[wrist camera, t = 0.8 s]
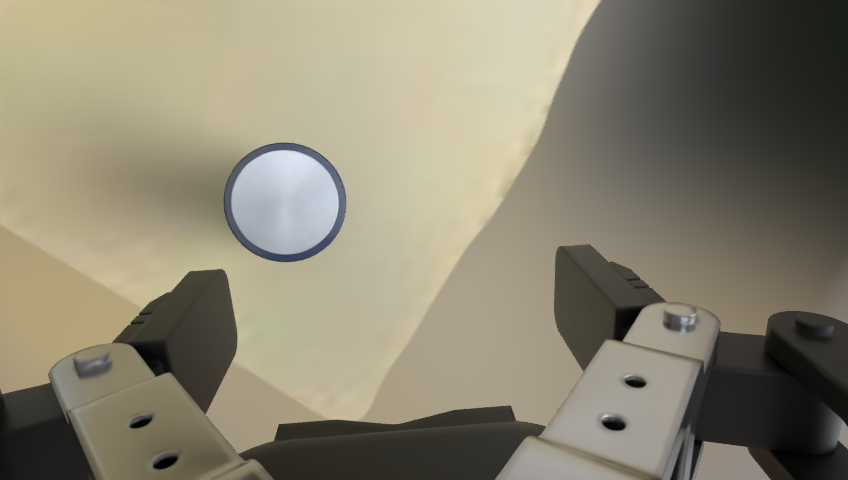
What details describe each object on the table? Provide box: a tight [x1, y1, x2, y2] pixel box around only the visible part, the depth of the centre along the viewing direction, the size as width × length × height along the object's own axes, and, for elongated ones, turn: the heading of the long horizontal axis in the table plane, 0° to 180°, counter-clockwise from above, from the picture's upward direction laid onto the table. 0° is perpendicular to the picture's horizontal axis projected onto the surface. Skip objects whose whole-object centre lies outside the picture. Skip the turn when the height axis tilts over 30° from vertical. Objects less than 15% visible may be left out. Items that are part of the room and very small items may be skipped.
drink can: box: [224, 143, 346, 262], centre depth 31 cm, size 5×5×13 cm
